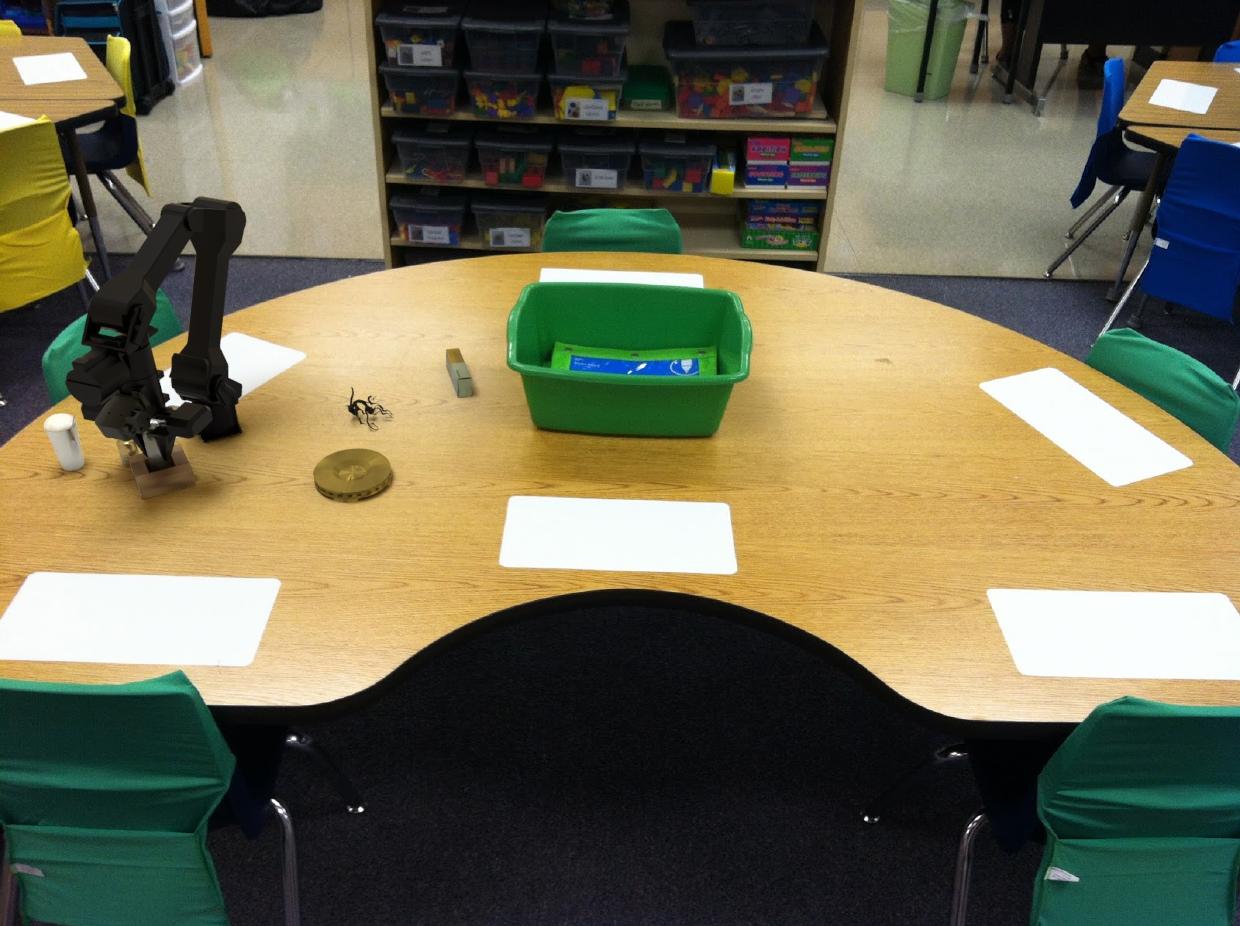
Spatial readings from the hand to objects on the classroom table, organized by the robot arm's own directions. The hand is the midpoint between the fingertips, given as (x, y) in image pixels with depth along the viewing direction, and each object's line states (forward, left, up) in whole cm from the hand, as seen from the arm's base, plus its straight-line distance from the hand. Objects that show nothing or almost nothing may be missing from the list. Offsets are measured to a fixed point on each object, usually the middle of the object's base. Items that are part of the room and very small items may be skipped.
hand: (158, 457), depth 162 cm
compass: (-26, +14, -4) cm, 30 cm away
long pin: (0, 0, -3) cm, 3 cm away
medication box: (-53, -6, -4) cm, 54 cm away
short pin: (+4, -7, -4) cm, 9 cm away
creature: (-35, -1, -4) cm, 35 cm away
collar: (0, 0, -4) cm, 4 cm away
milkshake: (+11, -10, -4) cm, 16 cm away
